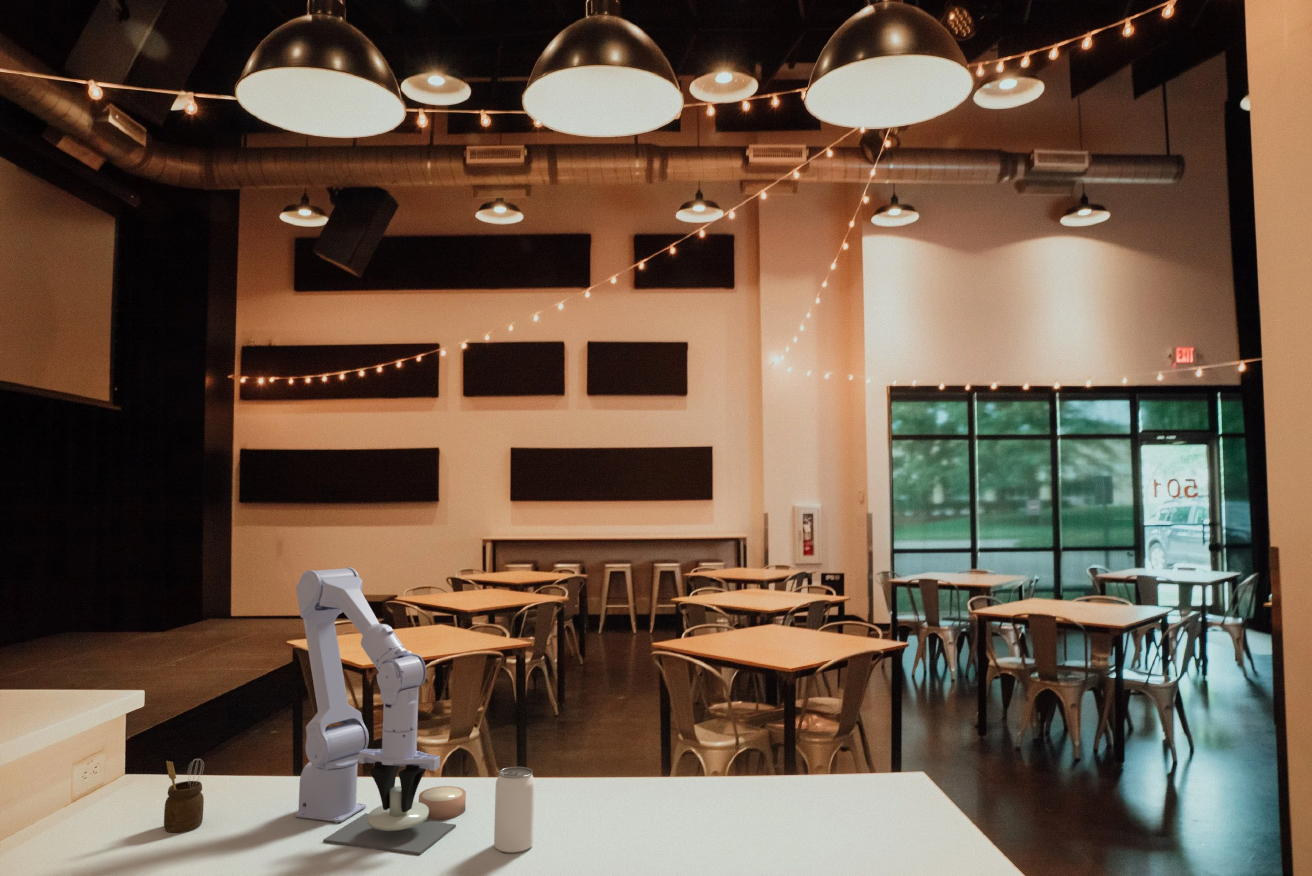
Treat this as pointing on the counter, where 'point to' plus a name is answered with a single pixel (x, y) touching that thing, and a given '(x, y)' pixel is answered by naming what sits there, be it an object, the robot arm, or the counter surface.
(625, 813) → the counter surface
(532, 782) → the can
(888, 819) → the counter surface
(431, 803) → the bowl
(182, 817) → the utensil holder
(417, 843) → the mat
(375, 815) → the lid
